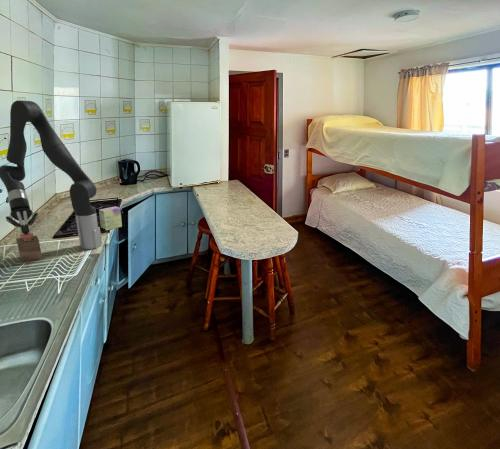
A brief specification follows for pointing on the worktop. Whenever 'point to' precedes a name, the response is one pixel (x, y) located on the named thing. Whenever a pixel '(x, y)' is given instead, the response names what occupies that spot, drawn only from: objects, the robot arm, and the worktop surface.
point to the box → (110, 218)
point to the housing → (29, 249)
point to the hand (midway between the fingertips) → (26, 233)
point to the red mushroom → (26, 236)
